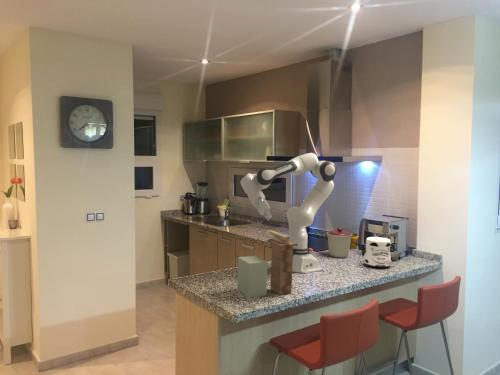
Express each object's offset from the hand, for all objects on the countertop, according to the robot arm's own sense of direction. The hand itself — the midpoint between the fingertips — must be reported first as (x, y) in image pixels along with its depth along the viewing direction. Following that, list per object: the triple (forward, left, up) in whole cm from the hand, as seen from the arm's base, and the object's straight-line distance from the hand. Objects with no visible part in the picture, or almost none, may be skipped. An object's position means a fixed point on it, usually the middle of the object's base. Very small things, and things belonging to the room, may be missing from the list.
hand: (270, 218), depth 249 cm
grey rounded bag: (-102, -8, -34) cm, 108 cm away
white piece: (-78, +6, -34) cm, 85 cm away
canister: (-70, -25, -34) cm, 82 cm away
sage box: (+24, +27, -33) cm, 49 cm away
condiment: (-97, -43, -34) cm, 111 cm away
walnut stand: (+9, +31, -33) cm, 46 cm away
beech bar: (+9, +26, -7) cm, 28 cm away
